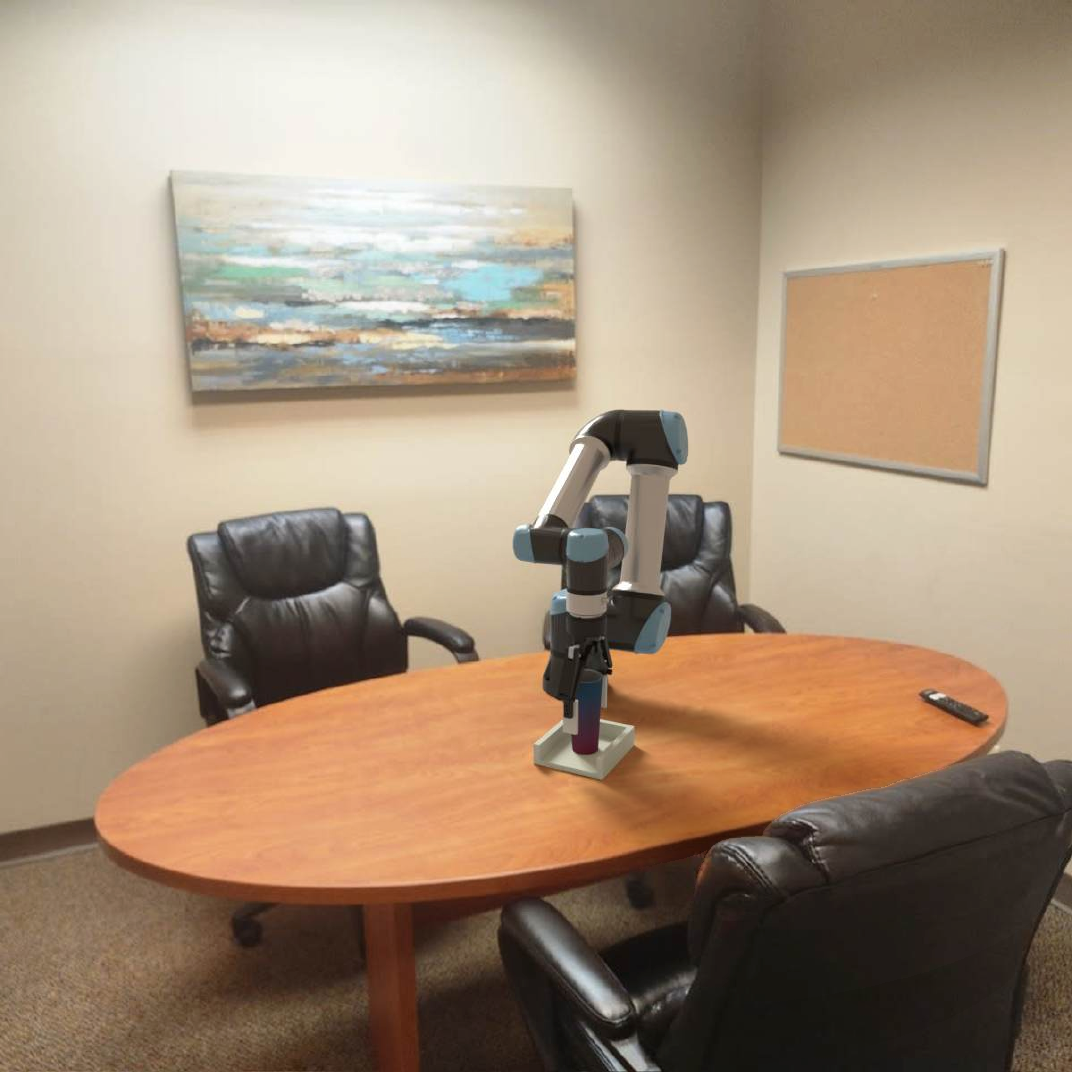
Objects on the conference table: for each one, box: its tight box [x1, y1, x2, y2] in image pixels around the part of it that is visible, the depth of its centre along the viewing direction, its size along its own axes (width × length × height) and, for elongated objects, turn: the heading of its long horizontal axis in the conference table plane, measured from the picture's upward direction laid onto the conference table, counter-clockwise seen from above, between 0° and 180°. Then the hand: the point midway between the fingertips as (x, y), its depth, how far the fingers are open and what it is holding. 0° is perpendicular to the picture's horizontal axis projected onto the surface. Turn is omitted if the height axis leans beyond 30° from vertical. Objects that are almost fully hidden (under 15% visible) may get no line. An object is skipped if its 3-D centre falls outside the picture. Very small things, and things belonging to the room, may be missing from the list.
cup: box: [571, 669, 603, 755], centre depth 168 cm, size 7×7×15 cm
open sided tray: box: [533, 718, 636, 781], centre depth 170 cm, size 14×16×4 cm
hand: (585, 719), depth 168 cm, fingers open, 13 cm apart
